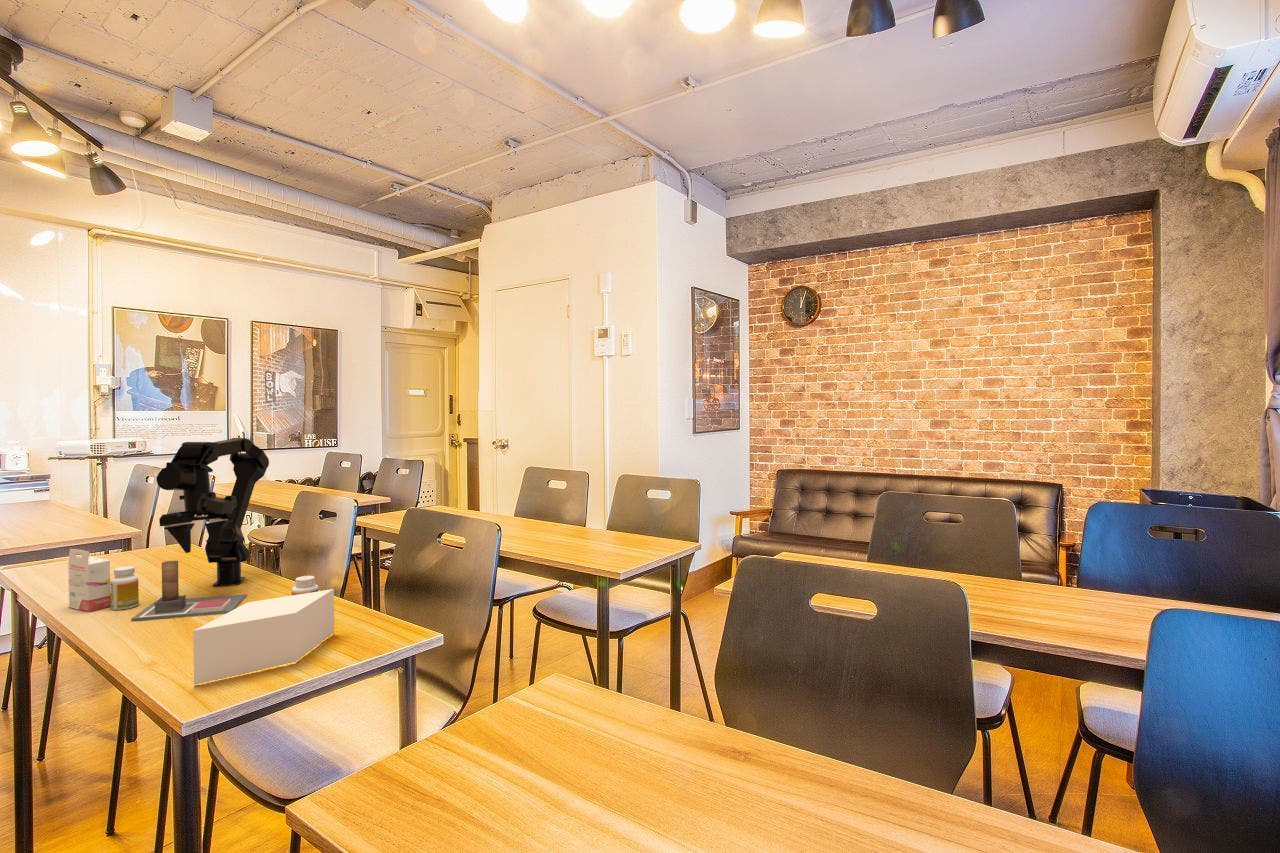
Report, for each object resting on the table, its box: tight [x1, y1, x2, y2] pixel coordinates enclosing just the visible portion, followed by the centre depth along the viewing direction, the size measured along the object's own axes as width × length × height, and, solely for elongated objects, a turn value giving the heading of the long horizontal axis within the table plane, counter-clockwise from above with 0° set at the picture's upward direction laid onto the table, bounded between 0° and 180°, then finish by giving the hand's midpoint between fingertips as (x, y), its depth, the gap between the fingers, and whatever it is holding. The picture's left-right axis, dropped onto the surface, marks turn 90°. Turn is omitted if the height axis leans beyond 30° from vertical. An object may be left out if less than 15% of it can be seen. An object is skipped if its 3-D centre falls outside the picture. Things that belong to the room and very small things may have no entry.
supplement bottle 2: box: [291, 575, 320, 596], centre depth 147 cm, size 6×6×10 cm
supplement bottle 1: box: [110, 565, 140, 611], centre depth 157 cm, size 5×5×10 cm
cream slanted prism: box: [192, 588, 335, 686], centre depth 126 cm, size 14×29×10 cm, turn 155°
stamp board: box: [130, 593, 247, 622], centre depth 156 cm, size 14×20×2 cm
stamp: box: [155, 560, 187, 614], centre depth 153 cm, size 5×5×12 cm
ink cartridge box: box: [67, 548, 111, 613], centre depth 156 cm, size 9×5×15 cm, turn 68°
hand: (202, 550), depth 162 cm, fingers open, 9 cm apart
